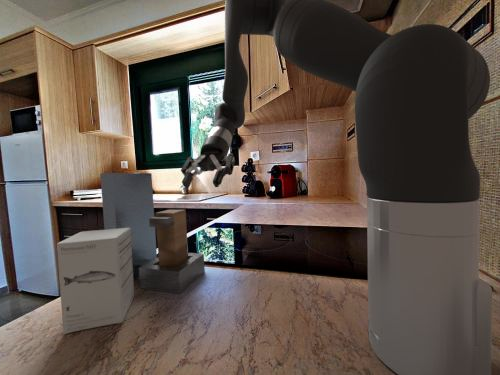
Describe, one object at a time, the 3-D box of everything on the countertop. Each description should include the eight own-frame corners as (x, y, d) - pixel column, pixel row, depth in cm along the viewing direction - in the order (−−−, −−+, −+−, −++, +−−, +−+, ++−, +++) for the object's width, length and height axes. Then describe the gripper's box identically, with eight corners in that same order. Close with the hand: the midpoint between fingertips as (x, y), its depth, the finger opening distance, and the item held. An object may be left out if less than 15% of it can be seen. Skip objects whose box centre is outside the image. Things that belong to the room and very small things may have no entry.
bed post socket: (206, 270, 47) (200, 170, 46) (178, 295, 37) (170, 169, 36) (147, 264, 51) (141, 173, 50) (108, 285, 42) (100, 173, 41)
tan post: (189, 275, 45) (185, 209, 44) (171, 290, 39) (166, 214, 38) (173, 274, 46) (169, 209, 45) (153, 287, 40) (148, 214, 40)
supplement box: (61, 336, 28) (52, 243, 28) (87, 305, 36) (81, 230, 35) (123, 324, 30) (116, 237, 30) (136, 296, 37) (131, 225, 37)
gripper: (190, 137, 63) (168, 176, 53) (235, 132, 59) (220, 173, 49) (201, 156, 68) (182, 195, 58) (243, 152, 64) (230, 194, 54)
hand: (199, 185), depth 53 cm, fingers open, 8 cm apart
